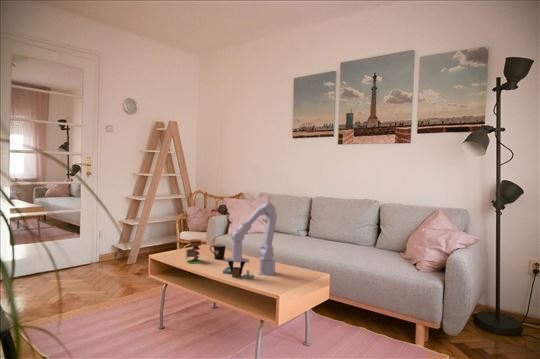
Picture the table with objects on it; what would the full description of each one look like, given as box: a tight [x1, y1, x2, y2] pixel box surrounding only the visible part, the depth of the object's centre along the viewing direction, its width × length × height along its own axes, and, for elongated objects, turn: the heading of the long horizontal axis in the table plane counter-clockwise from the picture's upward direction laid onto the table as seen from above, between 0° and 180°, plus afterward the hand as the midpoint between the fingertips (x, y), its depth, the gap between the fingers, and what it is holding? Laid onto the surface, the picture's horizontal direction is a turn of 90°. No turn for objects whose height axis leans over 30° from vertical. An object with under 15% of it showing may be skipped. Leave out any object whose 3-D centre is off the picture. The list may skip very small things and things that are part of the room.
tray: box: [222, 266, 235, 275], centre depth 225 cm, size 9×9×2 cm
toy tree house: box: [185, 239, 204, 265], centre depth 247 cm, size 12×13×15 cm
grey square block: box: [241, 269, 255, 280], centre depth 214 cm, size 6×6×4 cm
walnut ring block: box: [231, 266, 242, 279], centre depth 215 cm, size 4×4×5 cm
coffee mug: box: [209, 243, 226, 261], centre depth 258 cm, size 12×9×10 cm
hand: (236, 274), depth 215 cm, fingers closed on walnut ring block, 4 cm apart
